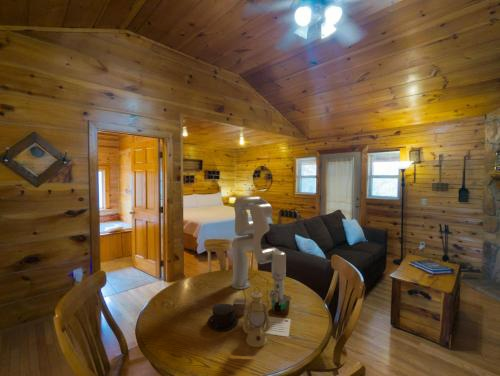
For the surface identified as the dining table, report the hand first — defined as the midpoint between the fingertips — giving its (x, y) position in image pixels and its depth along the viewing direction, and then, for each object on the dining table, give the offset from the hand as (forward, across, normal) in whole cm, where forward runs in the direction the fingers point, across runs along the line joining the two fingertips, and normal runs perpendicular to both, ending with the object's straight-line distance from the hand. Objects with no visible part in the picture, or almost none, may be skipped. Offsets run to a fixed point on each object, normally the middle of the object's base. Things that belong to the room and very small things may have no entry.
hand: (278, 307), depth 131 cm
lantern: (+2, -26, +7) cm, 27 cm away
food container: (+2, -1, 0) cm, 3 cm away
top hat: (+3, -16, +26) cm, 30 cm away
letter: (+2, -13, -1) cm, 13 cm away
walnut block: (+2, -5, +20) cm, 21 cm away
